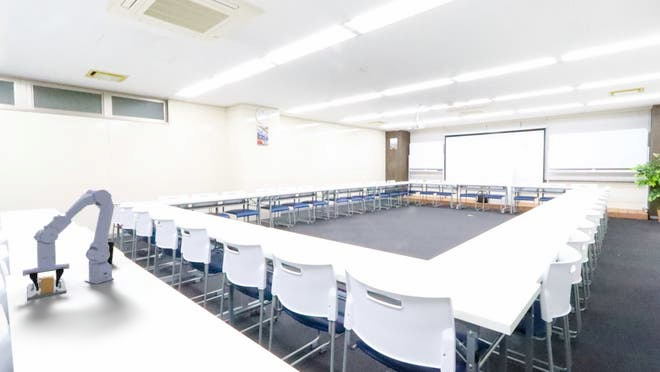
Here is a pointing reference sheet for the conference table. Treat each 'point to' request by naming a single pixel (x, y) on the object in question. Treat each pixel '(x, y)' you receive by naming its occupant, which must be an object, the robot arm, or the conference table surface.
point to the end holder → (40, 280)
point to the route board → (36, 294)
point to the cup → (111, 247)
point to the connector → (47, 284)
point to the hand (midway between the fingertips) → (47, 288)
